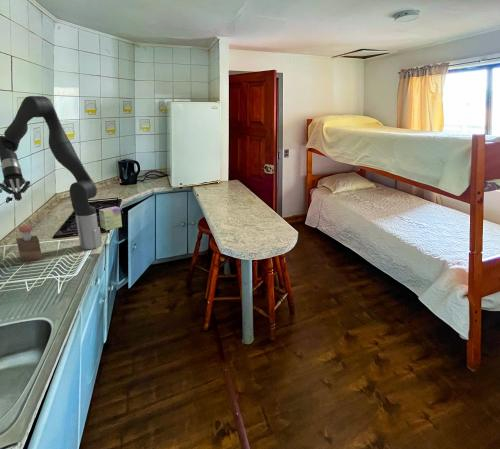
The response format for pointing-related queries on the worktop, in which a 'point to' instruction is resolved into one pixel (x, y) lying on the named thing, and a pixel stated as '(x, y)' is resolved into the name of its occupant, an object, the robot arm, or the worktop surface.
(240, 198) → the worktop surface
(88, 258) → the worktop surface
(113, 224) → the box
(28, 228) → the red mushroom
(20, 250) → the housing
